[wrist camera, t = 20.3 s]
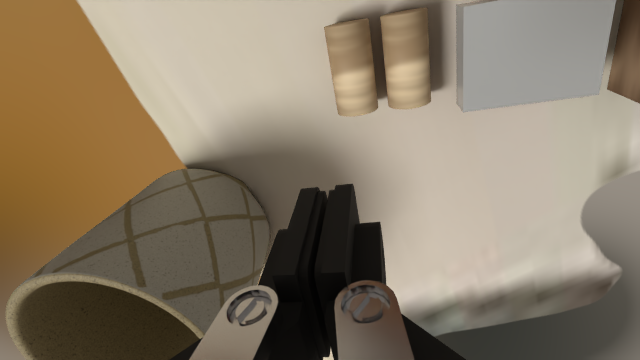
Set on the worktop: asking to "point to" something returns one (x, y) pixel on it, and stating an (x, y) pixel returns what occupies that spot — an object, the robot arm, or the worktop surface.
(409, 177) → the worktop surface
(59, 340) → the planter
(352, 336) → the robot arm
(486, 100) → the slab
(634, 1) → the stop block
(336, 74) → the bed rollers
